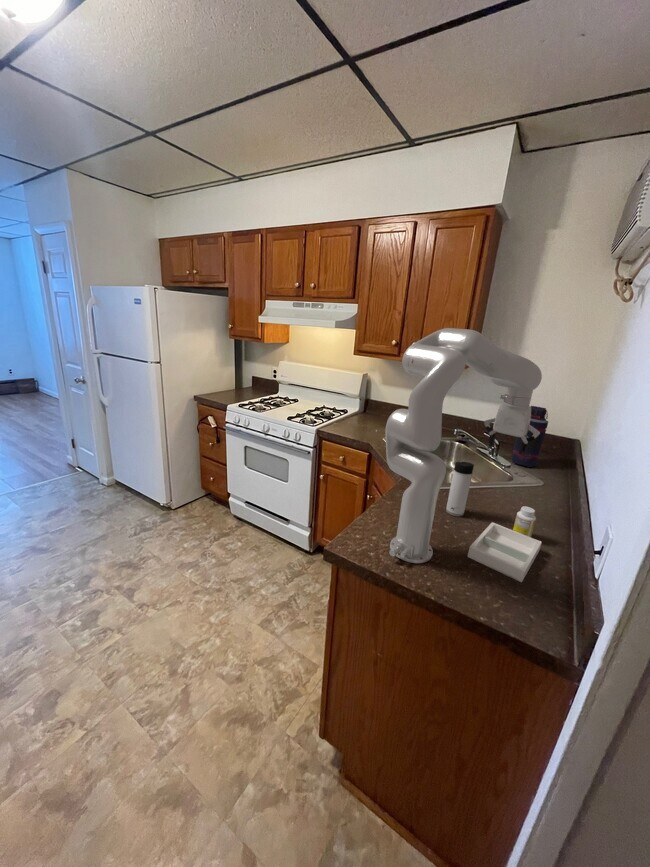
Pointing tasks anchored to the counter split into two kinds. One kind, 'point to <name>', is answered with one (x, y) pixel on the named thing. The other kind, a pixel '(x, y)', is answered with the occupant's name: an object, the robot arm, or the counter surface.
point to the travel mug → (459, 488)
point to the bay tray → (505, 551)
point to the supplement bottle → (525, 521)
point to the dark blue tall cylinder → (534, 446)
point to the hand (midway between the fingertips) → (505, 449)
